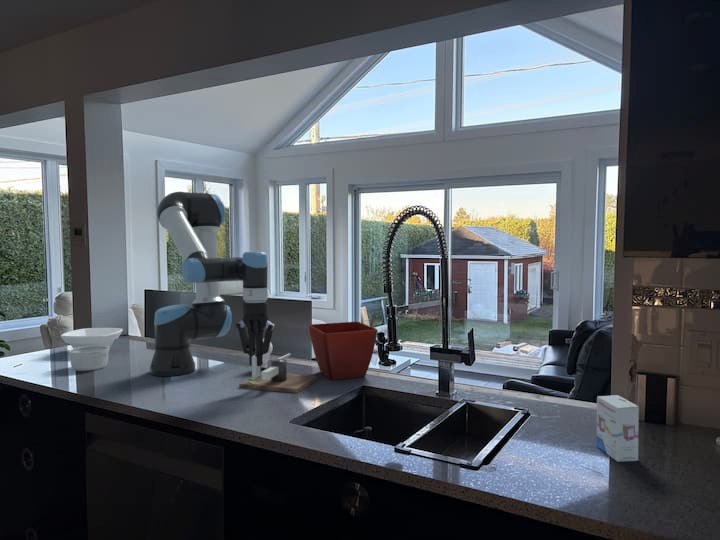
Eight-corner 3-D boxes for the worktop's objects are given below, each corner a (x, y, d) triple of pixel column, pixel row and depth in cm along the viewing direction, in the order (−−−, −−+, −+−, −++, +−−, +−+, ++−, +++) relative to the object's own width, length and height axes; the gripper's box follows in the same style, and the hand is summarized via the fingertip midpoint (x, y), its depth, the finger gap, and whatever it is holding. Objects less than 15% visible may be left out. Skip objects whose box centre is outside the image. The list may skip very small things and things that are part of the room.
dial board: (238, 387, 162) (238, 383, 162) (263, 374, 178) (263, 370, 178) (296, 393, 156) (296, 388, 156) (317, 379, 172) (316, 374, 172)
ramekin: (60, 370, 184) (60, 350, 184) (92, 362, 196) (91, 344, 196) (87, 373, 179) (86, 354, 179) (117, 365, 191) (117, 347, 191)
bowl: (105, 357, 204) (104, 336, 204) (53, 357, 204) (53, 336, 204) (129, 347, 225) (128, 327, 224) (82, 346, 225) (82, 327, 225)
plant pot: (324, 384, 166) (324, 332, 165) (308, 370, 184) (308, 324, 183) (378, 378, 173) (378, 329, 172) (357, 366, 191) (357, 321, 190)
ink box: (594, 446, 115) (595, 394, 115) (615, 445, 116) (617, 394, 115) (616, 462, 107) (618, 406, 106) (639, 461, 107) (641, 406, 107)
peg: (283, 372, 175) (283, 353, 175) (296, 373, 174) (296, 354, 174) (257, 386, 158) (257, 365, 157) (271, 387, 156) (271, 366, 156)
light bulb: (274, 366, 189) (274, 337, 188) (269, 371, 182) (269, 340, 182) (257, 366, 190) (257, 337, 189) (251, 370, 183) (251, 340, 182)
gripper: (230, 301, 158) (231, 377, 159) (268, 303, 154) (269, 380, 155) (243, 299, 165) (243, 371, 166) (279, 300, 161) (280, 374, 162)
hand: (256, 375), depth 160 cm, fingers closed
